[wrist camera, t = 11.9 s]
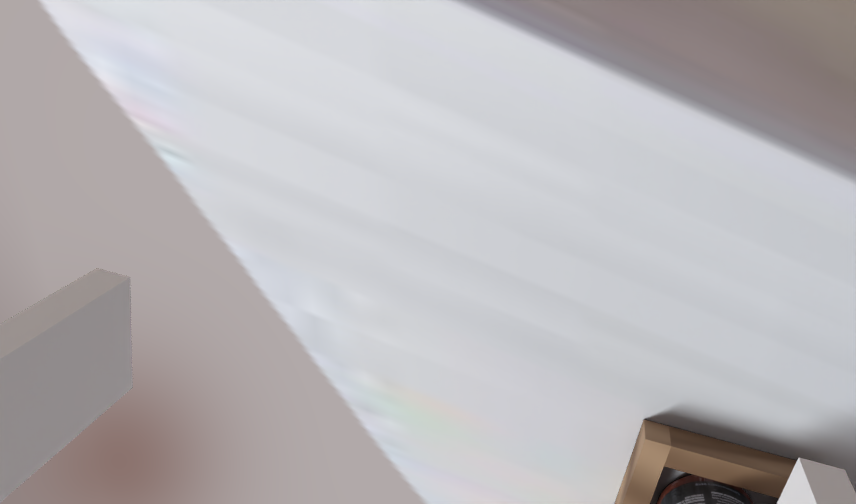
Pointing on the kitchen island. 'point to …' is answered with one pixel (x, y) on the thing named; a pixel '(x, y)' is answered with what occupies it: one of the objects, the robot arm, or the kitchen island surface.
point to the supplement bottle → (702, 492)
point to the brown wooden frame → (698, 463)
